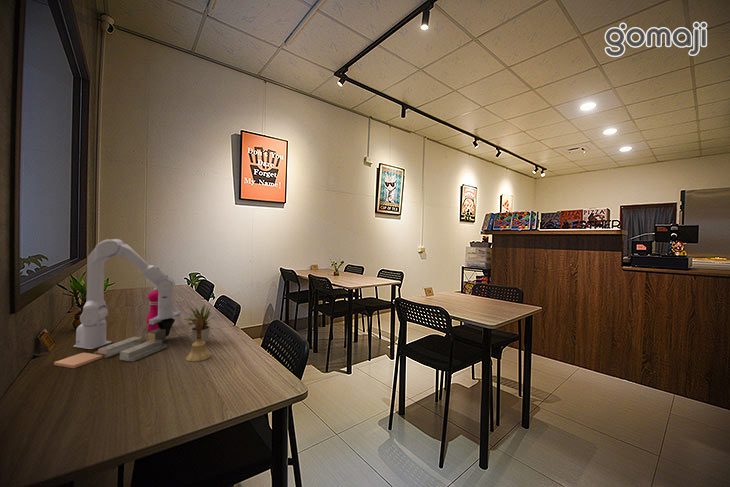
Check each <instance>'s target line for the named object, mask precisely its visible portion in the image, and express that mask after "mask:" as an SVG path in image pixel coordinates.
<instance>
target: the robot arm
mask: <svg viewBox="0 0 730 487" xmlns="http://www.w3.org/2000/svg"><path fill="white" fill-rule="evenodd" d="M113 256H115V257H120V258H126V259H127V260H128V261H130V263H132V264H134V265H135V266H137V268H139V269H140V270H141V271H142V276H143V277H144V278H146V279H147V280H148V281H149V282H151V283H152V284H153V285H154V286H156V287H155V288H157V291H159V296H158V316H156V317H154V318H152V319H149V324H152V325H153V324H155V323H157V325H158V326H159V328H160V329H166V337H169V336H170V331H171V329H172V327H173V325H174V323H175V321H176V319H175V318H177V317H181V316H182V311H179V310H178V311H177V310H176V311H174V307H175V305H174V304H175V301H174V300H175V297H174V296H175V295H174V292H175V291H174V289H173V288H174V287H175V285H176V281H175V280H174V279H173V278H172V277H169V275H168V274H165V273H164V272H163V271H162V270H161V267H160V266H156V265H153V264H152V265H150V264H149V262H147V261H146V260H145V259H144V258H142V257H141V256H140V255H139V254H138V253H137V251H136V250H134V249H133V248H132V247H131V246H130V245H129V244H127V243H125V242H124V241H123V240H121V239H119V238H113V239H104V240H102V241H100V242H98V243H96V244H95V247H94V248H93V249H92V251H91V252H90V254H89V255H87V258H86V259H87V261H86V262H87V264H86V272H87V273H86V302H85V303H84V305H83V307H82V313H80V316H79V321H80V325H78V326H77V328H76V330H75V344H74V345H73V346H72V347H73V348H78V349H79V348H80V349H88V350H93V349H94V350H95V349H97V348H101V347H104V346H107V345H110V344H111V343H112V344H113V341H111V340H107V320H106V317H108V315H109V312H110V310H109V309H108V307H107V302H106V300H105V298H104V297H105V296H104V295H105V263H106V262H107V261H108V260H109V259H110V258H112V257H113ZM149 324H148V325H149Z"/></svg>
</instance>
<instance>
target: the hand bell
mask: <svg viewBox="0 0 730 487" xmlns="http://www.w3.org/2000/svg"><path fill="white" fill-rule="evenodd" d="M195 319H196V318H195ZM194 327H195V328H196V331H197V336H196V337H197V338H196V342H195V343H194V342H193V343H192V344H191V350H190V353H189V354H188V355H187V356H186V357H185V360H186V361H187V362H192V363H193V362H194V363H195V362H202V361H206V360H208V359H209V358H210V357H212V354H211V352H209V351H208V349H207V345H206V343H205V342H203V341H201V331H202V328H203V320H202V317H201V314H200V315H199V316H197V319H196V322H195V324H194Z"/></svg>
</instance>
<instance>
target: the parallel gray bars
mask: <svg viewBox="0 0 730 487" xmlns="http://www.w3.org/2000/svg"><path fill="white" fill-rule="evenodd" d="M164 348H165V349H167V343H163V342H162V340H158V339H153V340H150V341H148V340H146V341H145V342H143V337H142V336H132V337H129V338H126V339H123V340H121V341H117V342H114V343H112V344H111V343H110V344H107V345H104V346H101V347H98V350H96V351H94V352H93V354H97V355H102V358H104V359H108V358H110V357H113V356H115V355H118V354H119V360H120V361H125V362H131V363H132V362H136V361H138V360H140V359H142V358H145V357H148V356H150V355H152V354H154V353H158V352H159V351H162V350H164Z"/></svg>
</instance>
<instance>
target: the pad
mask: <svg viewBox="0 0 730 487" xmlns="http://www.w3.org/2000/svg"><path fill="white" fill-rule="evenodd" d="M102 358H103V357H102V355H97V354H94V353H90V352H81V353H77V354H74V355H71V356H68V357H65V358H63V359H60V360H56V361H54V362H53V365H54V366H58V367H65V368H70V369H76V368H78V367H81V366H85V365H87V364H90V363H92V362H94V361H98V360H100V359H102Z"/></svg>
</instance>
